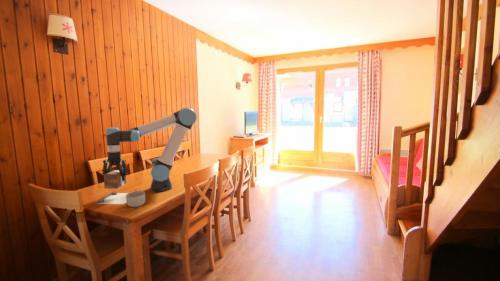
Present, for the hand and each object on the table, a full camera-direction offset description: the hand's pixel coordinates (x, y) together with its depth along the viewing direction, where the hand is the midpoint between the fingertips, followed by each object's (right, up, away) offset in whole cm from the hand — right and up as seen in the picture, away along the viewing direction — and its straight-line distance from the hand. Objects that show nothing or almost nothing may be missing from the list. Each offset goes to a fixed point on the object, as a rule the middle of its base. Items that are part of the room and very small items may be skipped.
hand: (115, 185), depth 167 cm
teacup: (+18, -11, -9) cm, 23 cm away
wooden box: (0, 0, 0) cm, 0 cm away
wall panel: (+1, -9, +1) cm, 10 cm away
